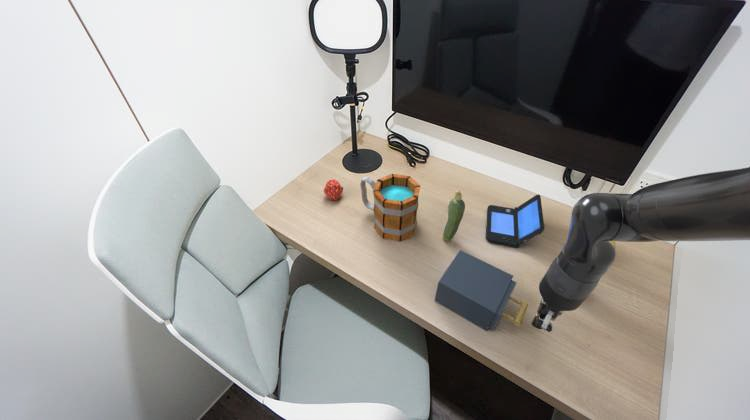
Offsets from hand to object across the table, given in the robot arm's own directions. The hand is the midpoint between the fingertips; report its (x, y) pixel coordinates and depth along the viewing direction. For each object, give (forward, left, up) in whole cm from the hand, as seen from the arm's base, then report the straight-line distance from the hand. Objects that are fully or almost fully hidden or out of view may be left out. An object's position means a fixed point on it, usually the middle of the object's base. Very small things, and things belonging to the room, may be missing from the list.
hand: (536, 324), depth 69 cm
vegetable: (+32, +1, -5) cm, 32 cm away
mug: (+47, +14, -5) cm, 49 cm away
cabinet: (+14, +7, -4) cm, 16 cm away
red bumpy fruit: (+66, +25, -5) cm, 70 cm away
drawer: (+10, +5, -3) cm, 12 cm away
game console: (+28, -18, -5) cm, 33 cm away
